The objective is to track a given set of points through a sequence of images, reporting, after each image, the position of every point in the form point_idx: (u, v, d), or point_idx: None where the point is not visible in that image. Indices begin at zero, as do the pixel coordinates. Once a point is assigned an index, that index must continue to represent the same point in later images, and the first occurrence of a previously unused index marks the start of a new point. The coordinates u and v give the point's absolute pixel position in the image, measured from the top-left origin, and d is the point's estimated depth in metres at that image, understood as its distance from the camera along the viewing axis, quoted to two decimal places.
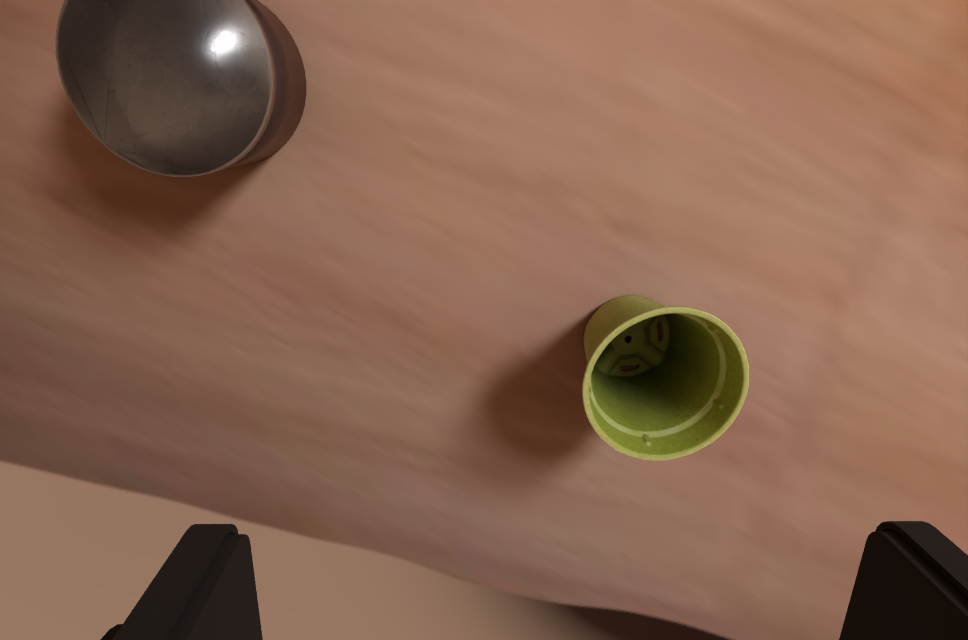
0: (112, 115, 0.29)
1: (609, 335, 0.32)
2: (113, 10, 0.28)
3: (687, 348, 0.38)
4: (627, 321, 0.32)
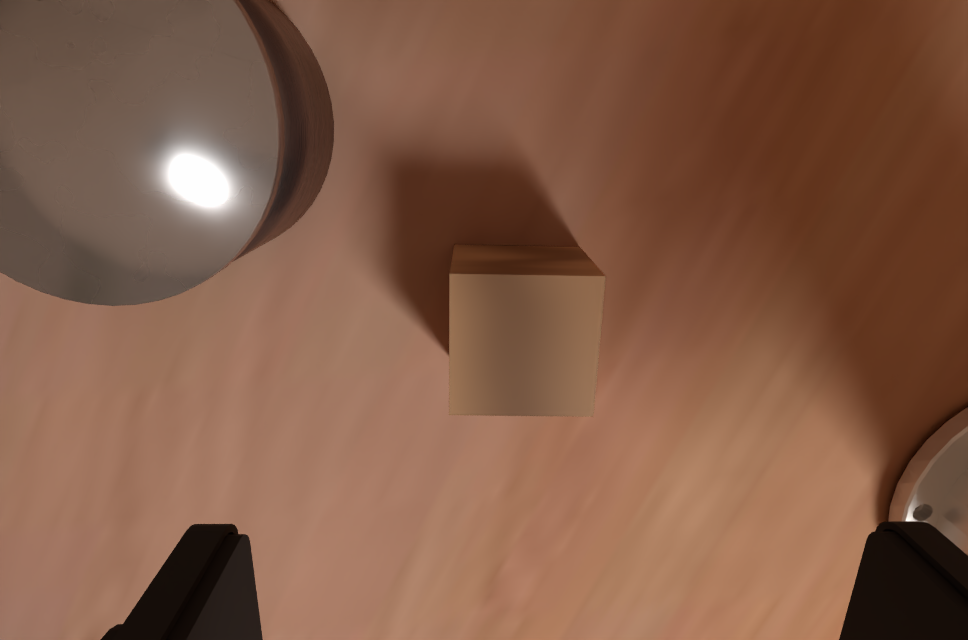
0: None
1: None
2: (164, 32, 0.15)
3: None
4: None
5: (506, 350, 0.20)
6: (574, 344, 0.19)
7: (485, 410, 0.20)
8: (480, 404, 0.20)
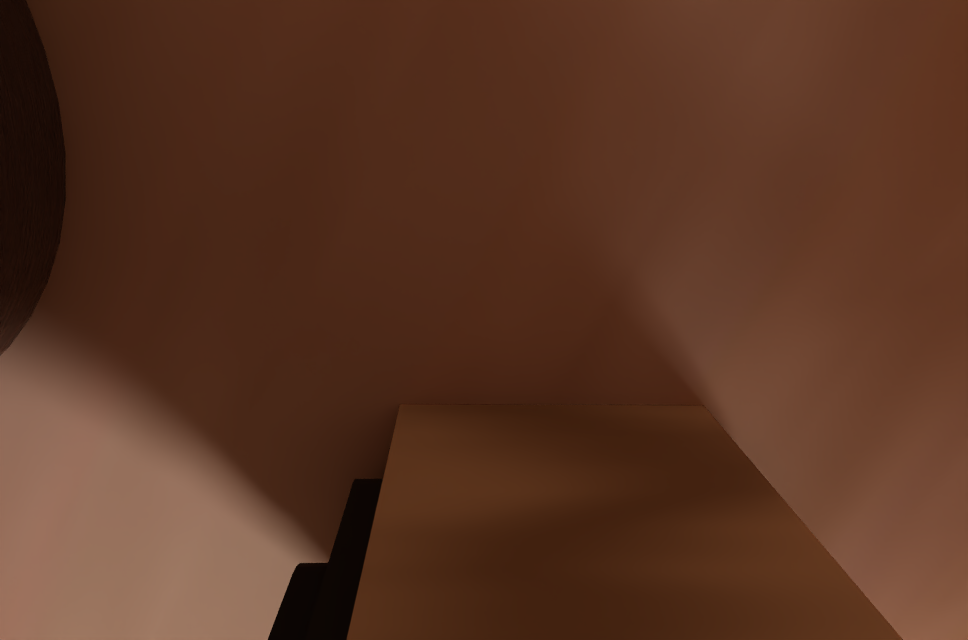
0: None
1: None
2: None
3: None
4: None
5: None
6: None
7: None
8: None
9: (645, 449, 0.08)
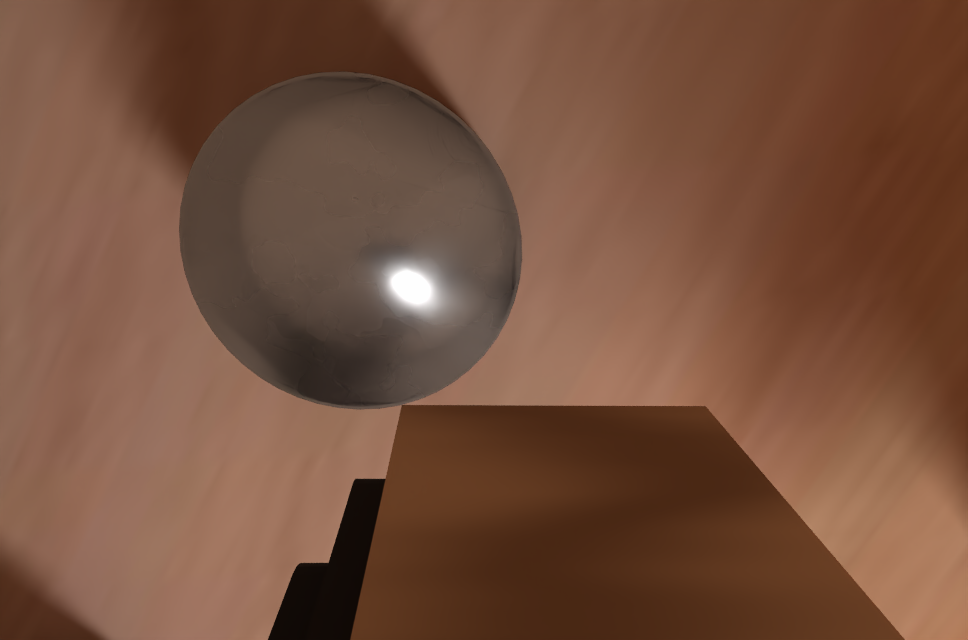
0: (270, 152, 0.17)
1: None
2: (436, 188, 0.17)
3: None
4: None
5: None
6: None
7: None
8: None
9: (647, 450, 0.08)
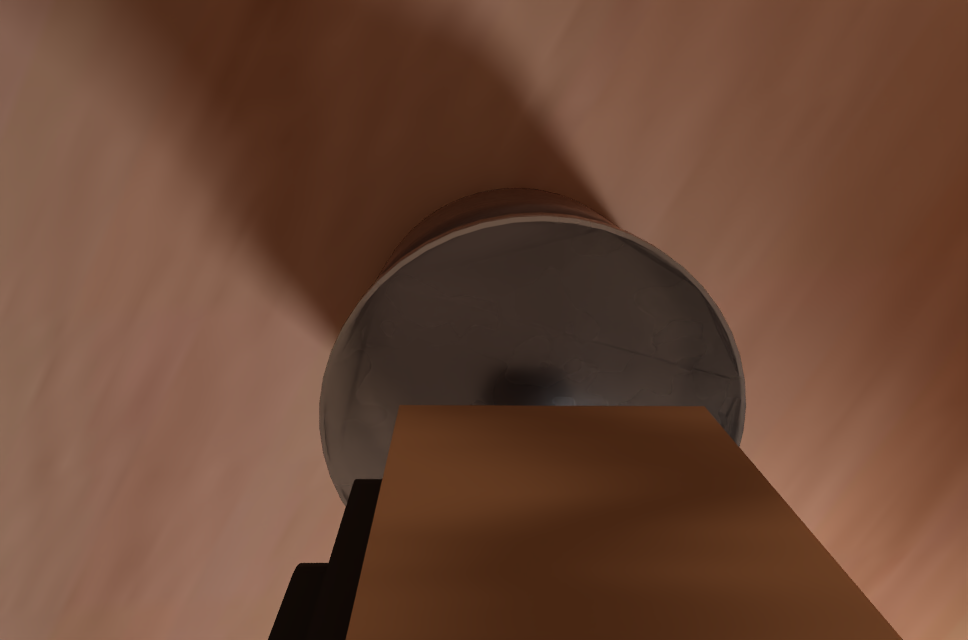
0: (442, 313, 0.13)
1: None
2: (647, 352, 0.14)
3: None
4: None
5: None
6: None
7: None
8: None
9: (645, 450, 0.08)
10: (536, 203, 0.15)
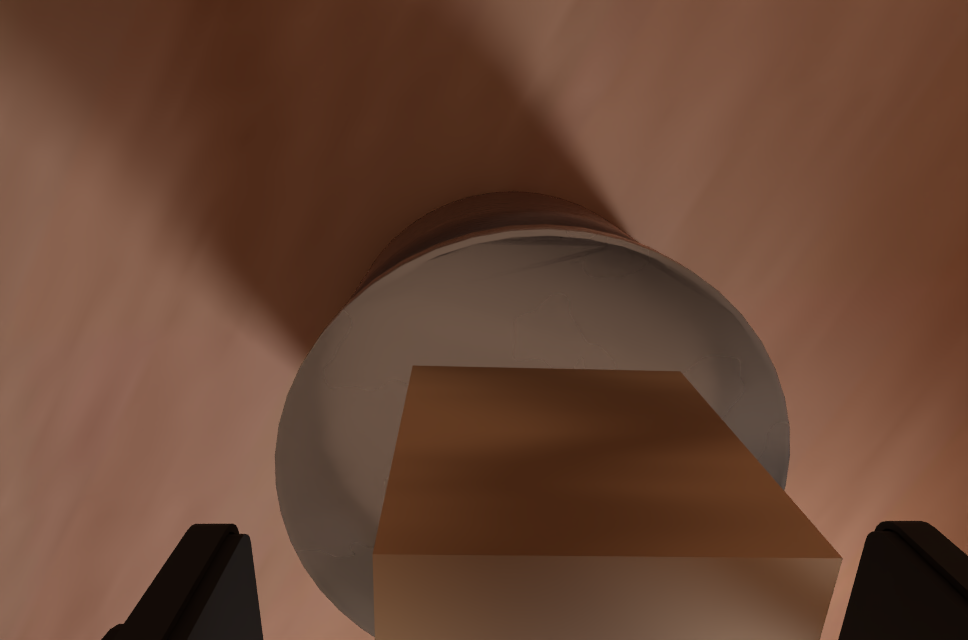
0: (424, 348, 0.11)
1: None
2: None
3: None
4: None
5: None
6: None
7: None
8: None
9: (626, 402, 0.10)
10: (537, 211, 0.13)
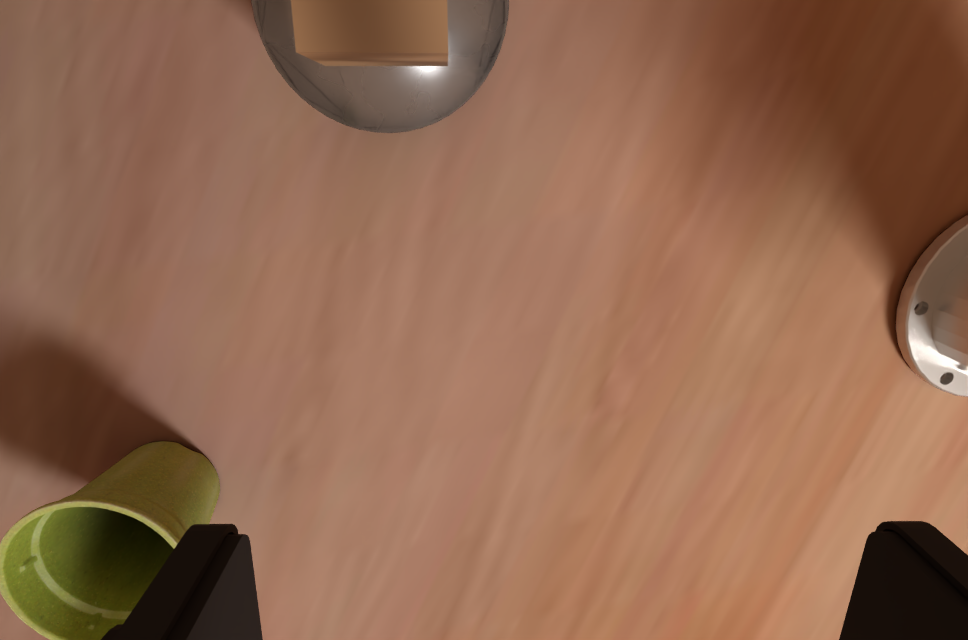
0: None
1: (145, 518, 0.28)
2: None
3: (164, 554, 0.36)
4: (166, 533, 0.29)
5: None
6: None
7: (334, 46, 0.19)
8: (327, 38, 0.19)
9: None
10: None
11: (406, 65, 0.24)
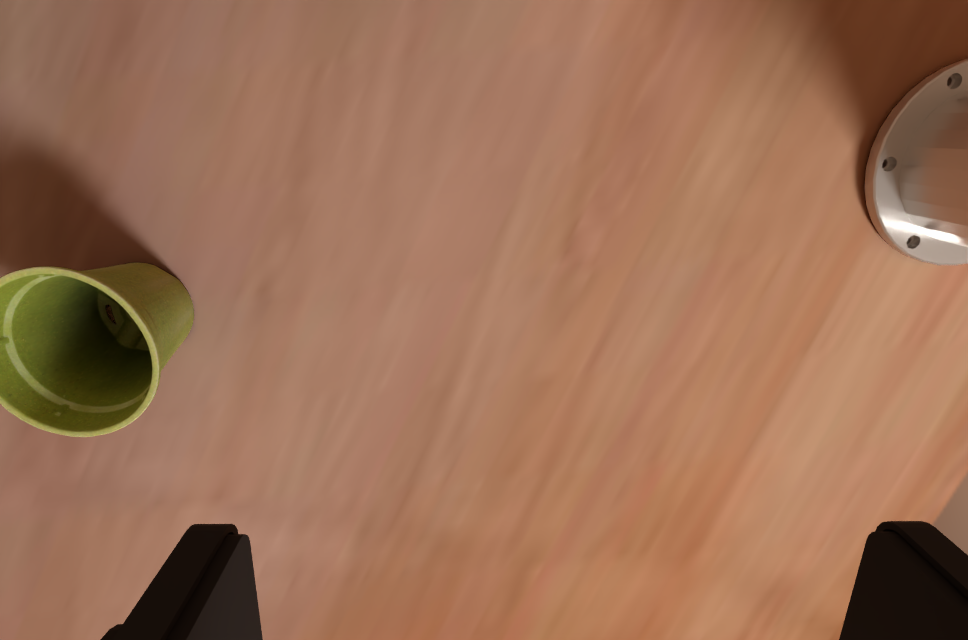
0: None
1: (112, 291, 0.29)
2: None
3: (136, 370, 0.37)
4: (132, 309, 0.30)
5: None
6: None
7: None
8: None
9: None
10: None
11: None
